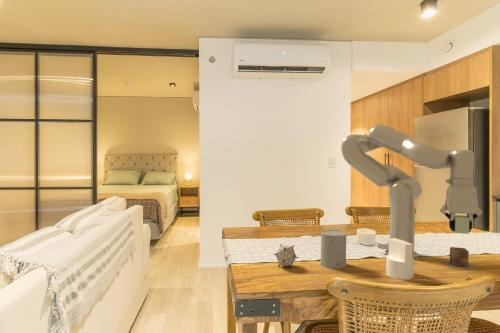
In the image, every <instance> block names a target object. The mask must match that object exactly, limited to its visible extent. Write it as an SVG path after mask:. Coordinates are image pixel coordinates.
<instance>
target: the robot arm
mask: <svg viewBox="0 0 500 333" xmlns="http://www.w3.org/2000/svg"><path fill="white" fill-rule="evenodd" d="M340 148H341V149H340V150H341V155H342V156H343V159H344V160H345V162H346V163H347V164H348V165H349V166H351V167H352V168H353V169H354V170H356V171H357V172H359V173H360V174H361V175H362V176H364V177H365V178H367V179H368V180H369V181H370V182H372V183H373V184H374V185H375V186H377V187H381V188H383V187H388V188H389V190H388V199H389V207H390V208H389V212H390V213H389V214H390V215H389V239H390V238H397V239H400V240H403V241H405V242H408V243H411V244H413V251H412V258H413V259H414V260H415V259H418V257H419V253H418V252H416V251H415V237H416V236H415V235H416V234H415V231H416V230H415V229H416V227H415V226H416V208H415V207H416V206H415V200H417V199H418V198H420V197H421V195H422V191H423V190H422V188H423V187H422V186H421V183H419V181H418V180H416V179H415V178H414V177H412V175H409V174H408V173H407V172H405V171H403V170H401V169H400V168H399V167H397V166H395V165H392V164H385V163H381V162H380V161H379V160H376V159H375V158H373V157H372V156H371V155H369V154H367V153H369V152H373V151H374V150H377V149H381V148H385V149H387V150H389V151H392V152H393V153H396V154H398V155H401V156H402V157H404V158H406V159H409V160H410V161H412V162H415V163H417V164H419V165H422V166H424V167H427V168H428V169H432V170H441V169H449V168H450V170H449V171H450V172H449V178H448V179H445V183H446V184H449V185H447V187H446V188H447V189H446V194H445V201H444V204H443V206H442V207H441V208H440V209H439V212H440V213H441V214H443V215H444V216H445V217H447V219H448V220H449V224H448V225H449V227H448V228H449V229H450V231H452V232H453V231H455V221H454V217H455V215H456V214H464V215H465V214H466V215H465V216H467V217H469V233H471V230H472V229H473V222H474V220H476V218H478V217H479V216H481V215H483V213H484V212H483V210H482V209H481V208H480V207H479V203H478V202H479V201H478V200H479V199H478V192H477V187H476V186H474V168H475V167H474V165H475V161H474V160H475V154H474V151H473V150H470V149H454V150H450V149H449V150H448V149H439V148H435V147H432V146H429V145H426V144H424V143H423V142H420V141H418V140H416V139H414V137H413V136H412V135H410V134H407V133H404V132H402V131H399V130H396V129H395V128H393V127H392V126H389V125H386V124H385V125H384V124H376V125H374V126H372V127H371V129H370V130H369V132H367V133H364V134H358V133H356V134H349V135H347V136H345V137H344V139H343V140H342V143H341V147H340ZM377 249H381V250H385V252H384V253H385V254H386V256H388V255H389V241H388V242H387V243H384V244H383V243H377Z"/></svg>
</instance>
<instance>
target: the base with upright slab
mask: <svg viewBox="0 0 500 333" xmlns="http://www.w3.org/2000/svg"><path fill="white" fill-rule="evenodd" d="M388 242H389V255H386V258H385V259H386V262H385V263H386V264H385V269H386V270H385V275H386V276H388V277H389V278H391V279H396V280H402V281H403V280H404V281H405V280H406V281H407V280H413V278H414V277H415V258H414V259H413V258H412V251H413V244H411V243H408V242H405V241H403V240H400V239H397V238H390V237H389V238H388Z"/></svg>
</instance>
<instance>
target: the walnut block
mask: <svg viewBox="0 0 500 333" xmlns="http://www.w3.org/2000/svg"><path fill="white" fill-rule="evenodd" d="M469 254H470V252H469V251H468V249H466V248H465V247H457V246H456V247H455V246H450V247H449V261H450V263H451V264H452V266H456V267H468V263H469V258H470V257H469Z"/></svg>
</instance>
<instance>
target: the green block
mask: <svg viewBox="0 0 500 333" xmlns="http://www.w3.org/2000/svg"><path fill="white" fill-rule="evenodd" d="M454 221H455V231H452V232H453V233H455V234H463V235H464V234H465V235H466V234H467V235H469V234H470V232H469V217H467V215H462V214H460V215H459V214H457V215H456V214H455V217H454Z"/></svg>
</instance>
